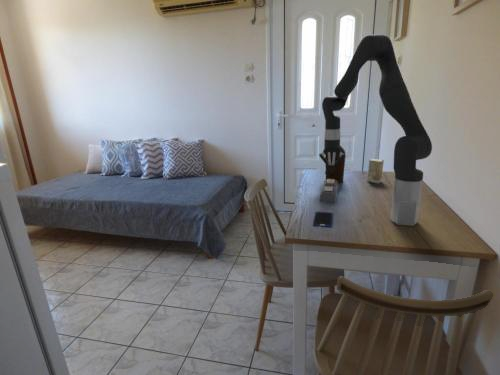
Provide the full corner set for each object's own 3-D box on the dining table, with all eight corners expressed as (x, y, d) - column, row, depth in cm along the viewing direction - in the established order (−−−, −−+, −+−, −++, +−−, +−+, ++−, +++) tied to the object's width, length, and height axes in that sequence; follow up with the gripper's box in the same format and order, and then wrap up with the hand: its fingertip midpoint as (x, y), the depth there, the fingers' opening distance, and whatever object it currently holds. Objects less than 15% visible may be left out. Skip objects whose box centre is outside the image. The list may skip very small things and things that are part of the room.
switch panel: (335, 202, 139) (335, 193, 138) (319, 201, 141) (320, 192, 140) (338, 187, 159) (338, 179, 157) (324, 186, 161) (324, 179, 160)
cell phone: (312, 227, 117) (312, 225, 117) (315, 212, 130) (315, 211, 129) (332, 228, 115) (332, 226, 115) (333, 214, 128) (333, 212, 127)
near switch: (332, 191, 140) (332, 188, 140) (324, 190, 141) (324, 187, 141) (333, 189, 145) (333, 186, 145) (325, 188, 146) (325, 186, 146)
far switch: (334, 183, 151) (334, 180, 151) (326, 183, 152) (326, 180, 152) (334, 181, 156) (334, 179, 156) (327, 181, 157) (327, 178, 157)
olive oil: (348, 181, 167) (350, 136, 159) (336, 185, 161) (337, 139, 153) (332, 177, 175) (334, 134, 168) (320, 181, 169) (321, 137, 162)
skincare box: (367, 181, 165) (368, 160, 161) (370, 179, 168) (371, 158, 164) (378, 183, 161) (380, 161, 157) (381, 181, 164) (383, 159, 160)
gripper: (317, 139, 147) (317, 173, 153) (346, 139, 143) (344, 174, 148) (319, 136, 154) (319, 169, 159) (346, 136, 150) (345, 170, 155)
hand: (331, 171), depth 154 cm, fingers closed
